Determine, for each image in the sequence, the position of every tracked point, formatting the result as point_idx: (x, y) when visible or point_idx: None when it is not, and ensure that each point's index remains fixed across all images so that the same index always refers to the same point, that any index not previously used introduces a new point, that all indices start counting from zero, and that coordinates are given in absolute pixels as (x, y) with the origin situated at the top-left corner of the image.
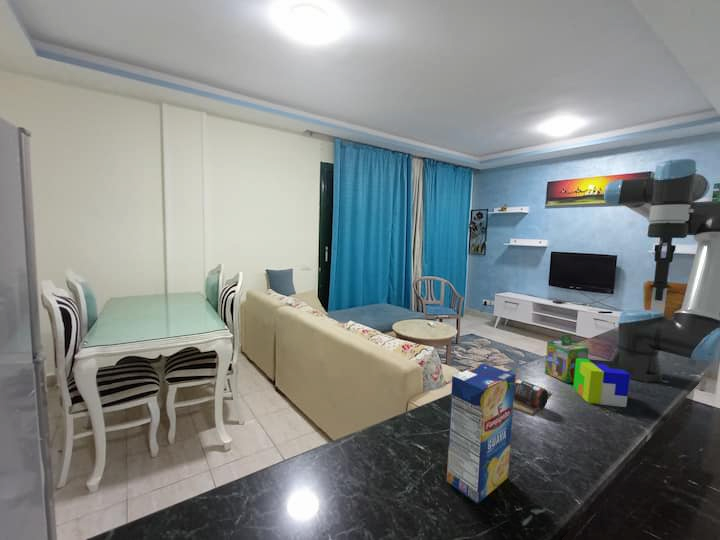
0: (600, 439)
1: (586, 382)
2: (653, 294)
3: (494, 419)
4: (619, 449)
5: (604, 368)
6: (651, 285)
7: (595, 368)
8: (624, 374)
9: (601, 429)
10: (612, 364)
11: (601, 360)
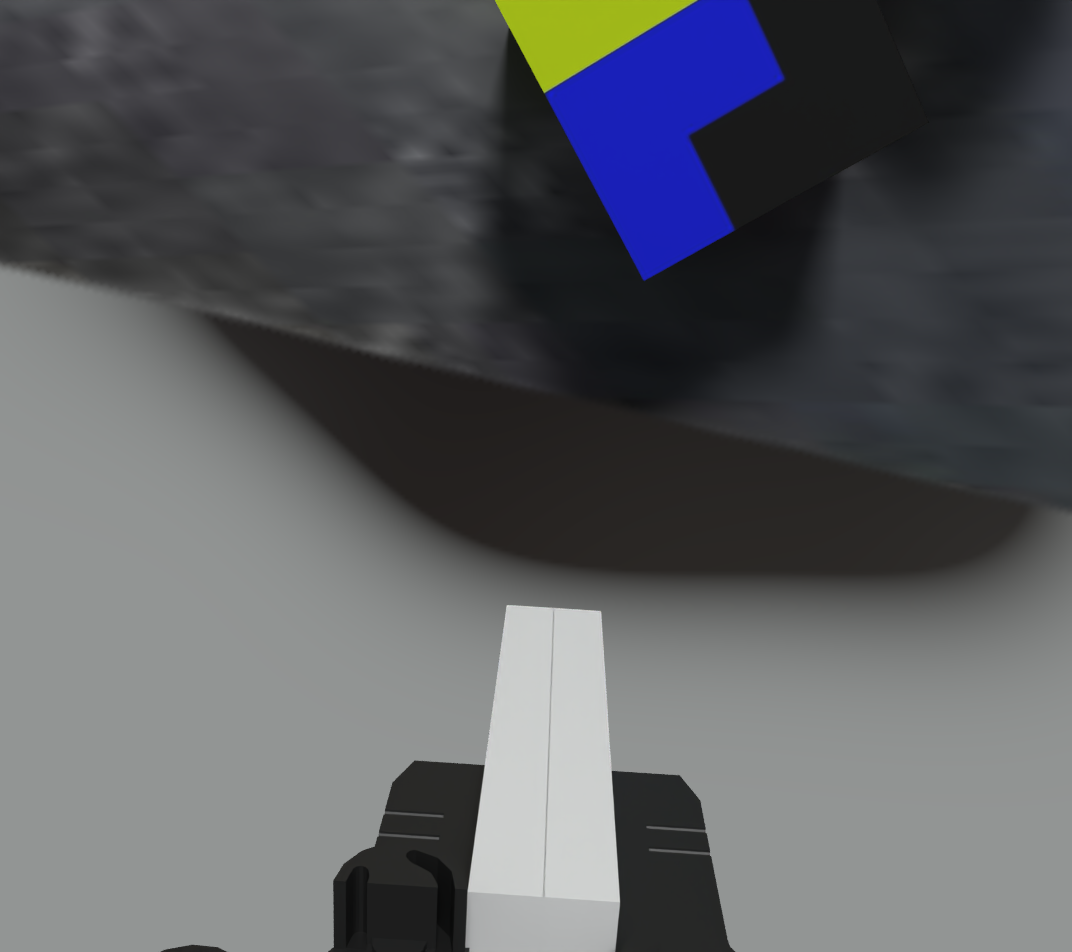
0: (51, 152)
1: None
2: (485, 799)
3: None
4: (27, 244)
5: (652, 88)
6: (341, 903)
7: (589, 18)
8: (625, 243)
9: (177, 145)
10: (826, 140)
11: (888, 40)
